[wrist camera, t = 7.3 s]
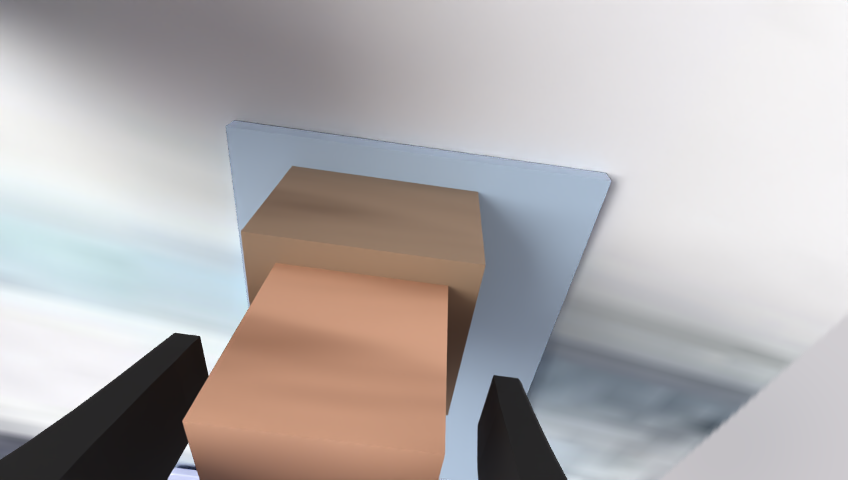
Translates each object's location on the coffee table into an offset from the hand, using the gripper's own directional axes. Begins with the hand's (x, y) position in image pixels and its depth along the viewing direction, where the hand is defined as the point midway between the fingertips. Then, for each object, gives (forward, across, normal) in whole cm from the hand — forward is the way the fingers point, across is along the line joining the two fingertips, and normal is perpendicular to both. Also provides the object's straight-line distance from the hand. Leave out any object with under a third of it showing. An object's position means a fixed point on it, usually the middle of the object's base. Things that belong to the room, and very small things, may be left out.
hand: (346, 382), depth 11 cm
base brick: (+6, 0, 0) cm, 6 cm away
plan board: (+6, -1, +5) cm, 8 cm away
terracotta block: (+2, 0, 0) cm, 2 cm away
